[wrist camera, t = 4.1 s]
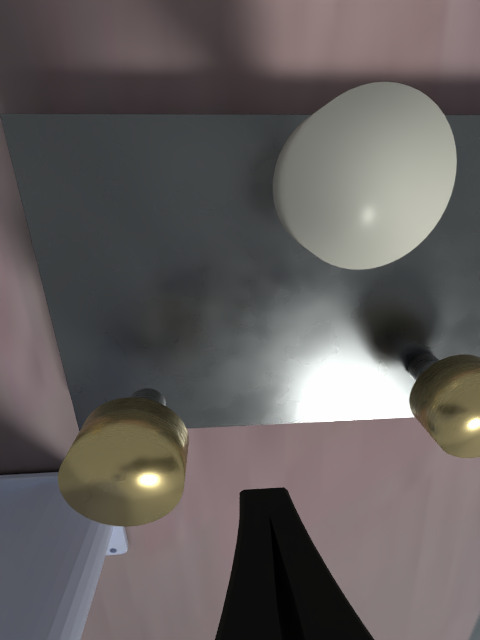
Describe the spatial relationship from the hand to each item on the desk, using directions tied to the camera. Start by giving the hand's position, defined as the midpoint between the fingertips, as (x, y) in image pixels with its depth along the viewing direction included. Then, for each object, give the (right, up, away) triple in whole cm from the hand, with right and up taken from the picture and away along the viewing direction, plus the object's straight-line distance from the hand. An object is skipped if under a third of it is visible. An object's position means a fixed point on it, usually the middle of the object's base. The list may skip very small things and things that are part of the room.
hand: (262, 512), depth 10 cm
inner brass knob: (-5, +2, +5) cm, 7 cm away
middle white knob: (+2, +11, +2) cm, 11 cm away
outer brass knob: (+9, +3, +8) cm, 12 cm away
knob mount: (+2, +8, +8) cm, 11 cm away
